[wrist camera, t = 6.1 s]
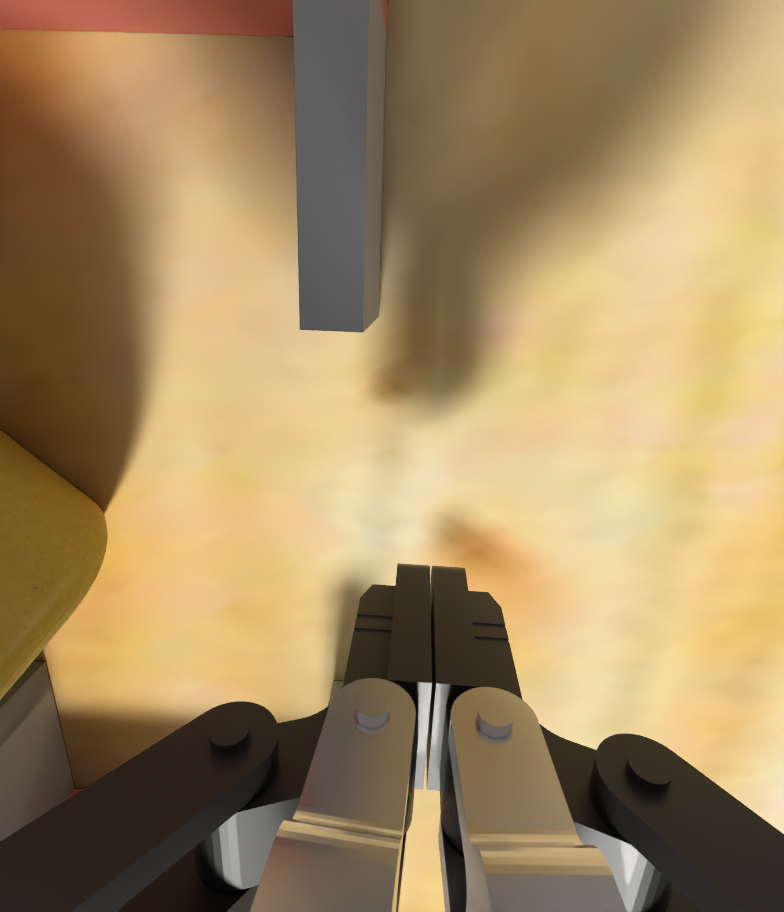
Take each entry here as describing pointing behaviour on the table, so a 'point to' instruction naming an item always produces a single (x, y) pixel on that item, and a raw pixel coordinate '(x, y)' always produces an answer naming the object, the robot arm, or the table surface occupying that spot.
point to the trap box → (319, 247)
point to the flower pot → (41, 555)
